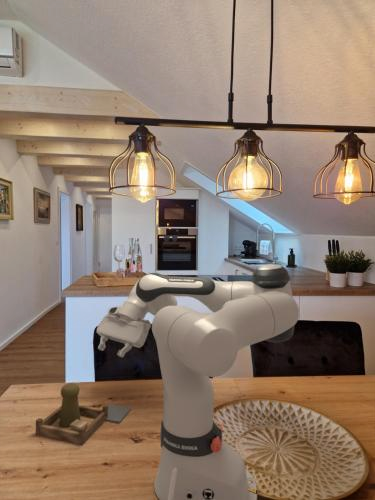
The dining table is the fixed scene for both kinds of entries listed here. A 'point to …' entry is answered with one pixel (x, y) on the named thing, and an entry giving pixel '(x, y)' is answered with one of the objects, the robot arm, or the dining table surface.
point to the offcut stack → (78, 425)
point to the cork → (69, 405)
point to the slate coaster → (116, 413)
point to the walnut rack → (69, 435)
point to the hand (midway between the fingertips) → (109, 352)
